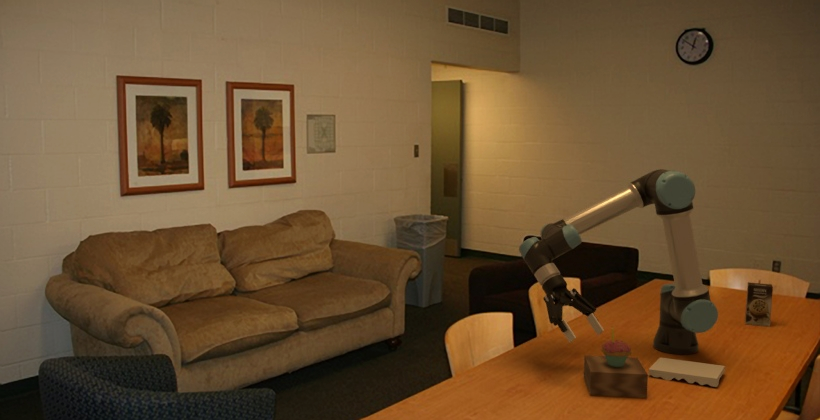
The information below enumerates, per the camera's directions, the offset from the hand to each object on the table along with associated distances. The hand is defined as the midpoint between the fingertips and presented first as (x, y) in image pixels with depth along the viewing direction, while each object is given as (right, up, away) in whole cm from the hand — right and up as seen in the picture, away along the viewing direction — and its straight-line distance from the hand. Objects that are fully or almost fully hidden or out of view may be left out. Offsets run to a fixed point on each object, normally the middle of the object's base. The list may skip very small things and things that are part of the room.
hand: (587, 336), depth 232 cm
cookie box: (+84, -7, +69) cm, 109 cm away
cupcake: (+7, -7, -7) cm, 12 cm away
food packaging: (+32, -14, +4) cm, 35 cm away
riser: (+6, -14, -7) cm, 17 cm away
